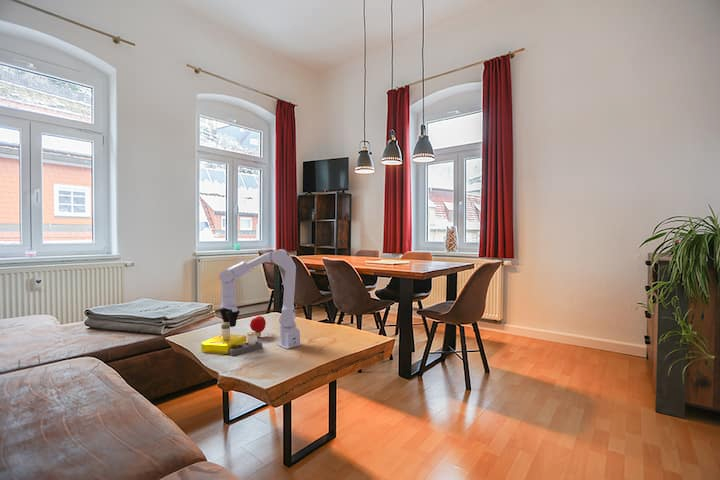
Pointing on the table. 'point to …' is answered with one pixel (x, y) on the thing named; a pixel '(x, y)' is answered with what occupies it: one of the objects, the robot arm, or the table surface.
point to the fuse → (251, 338)
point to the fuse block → (244, 348)
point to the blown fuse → (225, 330)
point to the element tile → (222, 343)
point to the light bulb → (258, 325)
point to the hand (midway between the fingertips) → (229, 325)
